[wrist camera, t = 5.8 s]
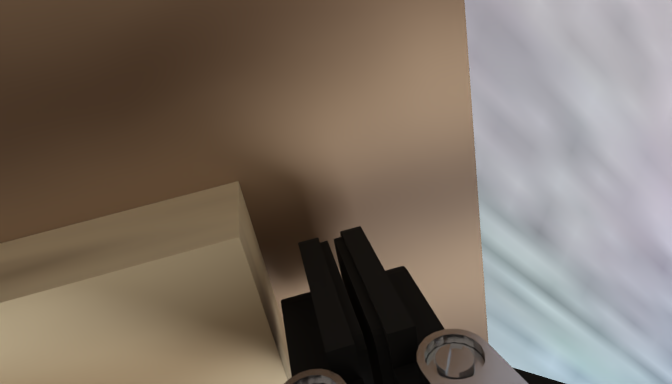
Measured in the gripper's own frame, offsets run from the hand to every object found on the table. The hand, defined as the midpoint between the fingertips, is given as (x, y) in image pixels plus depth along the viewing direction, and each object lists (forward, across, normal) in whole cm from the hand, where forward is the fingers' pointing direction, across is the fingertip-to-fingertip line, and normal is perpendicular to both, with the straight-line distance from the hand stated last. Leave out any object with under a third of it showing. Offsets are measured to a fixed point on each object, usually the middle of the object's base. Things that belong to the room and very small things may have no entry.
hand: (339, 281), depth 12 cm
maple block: (+1, +5, 0) cm, 5 cm away
